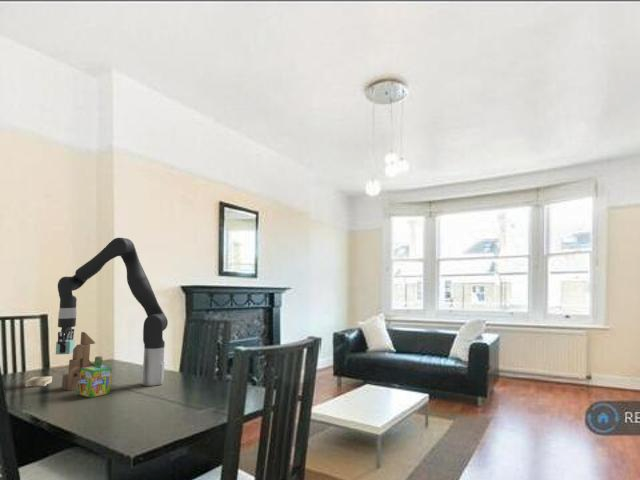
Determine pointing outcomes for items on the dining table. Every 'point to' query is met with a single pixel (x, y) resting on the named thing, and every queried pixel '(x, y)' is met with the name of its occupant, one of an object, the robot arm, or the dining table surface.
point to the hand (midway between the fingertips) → (65, 351)
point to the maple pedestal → (38, 381)
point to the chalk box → (95, 380)
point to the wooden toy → (78, 363)
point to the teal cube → (68, 347)
